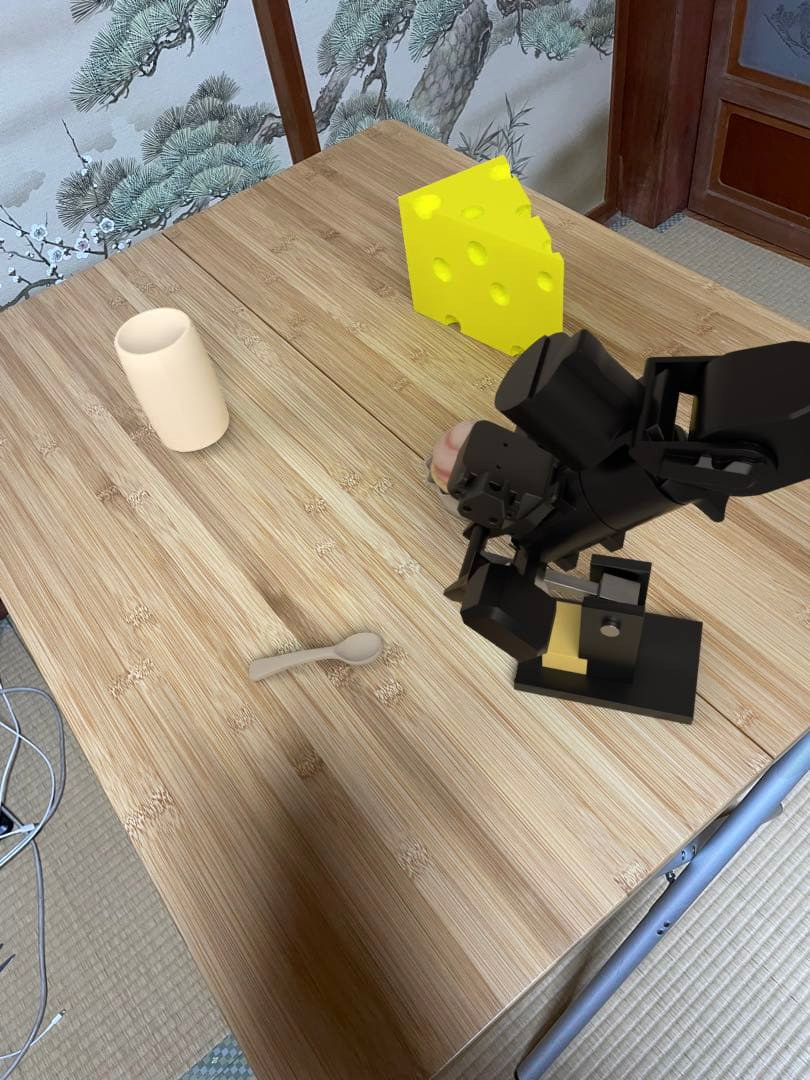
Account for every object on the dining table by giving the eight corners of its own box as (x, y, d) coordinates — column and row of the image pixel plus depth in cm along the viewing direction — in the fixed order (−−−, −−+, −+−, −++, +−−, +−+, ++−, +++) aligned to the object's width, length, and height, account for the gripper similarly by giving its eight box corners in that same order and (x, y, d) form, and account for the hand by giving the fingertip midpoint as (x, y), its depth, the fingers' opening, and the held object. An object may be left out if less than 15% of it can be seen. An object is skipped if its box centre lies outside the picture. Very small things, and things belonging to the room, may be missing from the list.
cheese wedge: (583, 271, 103) (588, 154, 91) (561, 379, 91) (564, 260, 80) (430, 266, 108) (417, 154, 96) (391, 368, 96) (371, 254, 84)
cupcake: (485, 550, 78) (478, 478, 70) (409, 507, 82) (396, 435, 75) (543, 489, 82) (543, 413, 74) (468, 451, 86) (460, 376, 78)
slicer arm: (454, 592, 63) (458, 575, 61) (471, 536, 66) (475, 518, 64) (624, 642, 62) (634, 626, 60) (634, 582, 65) (643, 565, 63)
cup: (228, 399, 96) (188, 295, 85) (241, 447, 91) (200, 342, 80) (157, 422, 95) (106, 319, 84) (166, 471, 90) (113, 369, 79)
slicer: (513, 690, 69) (509, 618, 60) (535, 601, 74) (534, 523, 65) (691, 725, 65) (713, 654, 56) (701, 629, 70) (722, 550, 61)
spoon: (387, 664, 71) (382, 652, 70) (254, 693, 72) (246, 682, 71) (384, 635, 73) (379, 623, 72) (254, 664, 74) (246, 652, 73)
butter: (553, 616, 71) (553, 600, 69) (596, 623, 70) (597, 607, 68) (542, 666, 68) (542, 651, 66) (586, 674, 67) (587, 659, 65)
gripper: (549, 319, 56) (412, 421, 67) (484, 532, 45) (335, 610, 57) (658, 418, 60) (511, 498, 71) (622, 635, 49) (456, 688, 61)
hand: (457, 565), depth 65 cm, fingers closed on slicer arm, 5 cm apart
